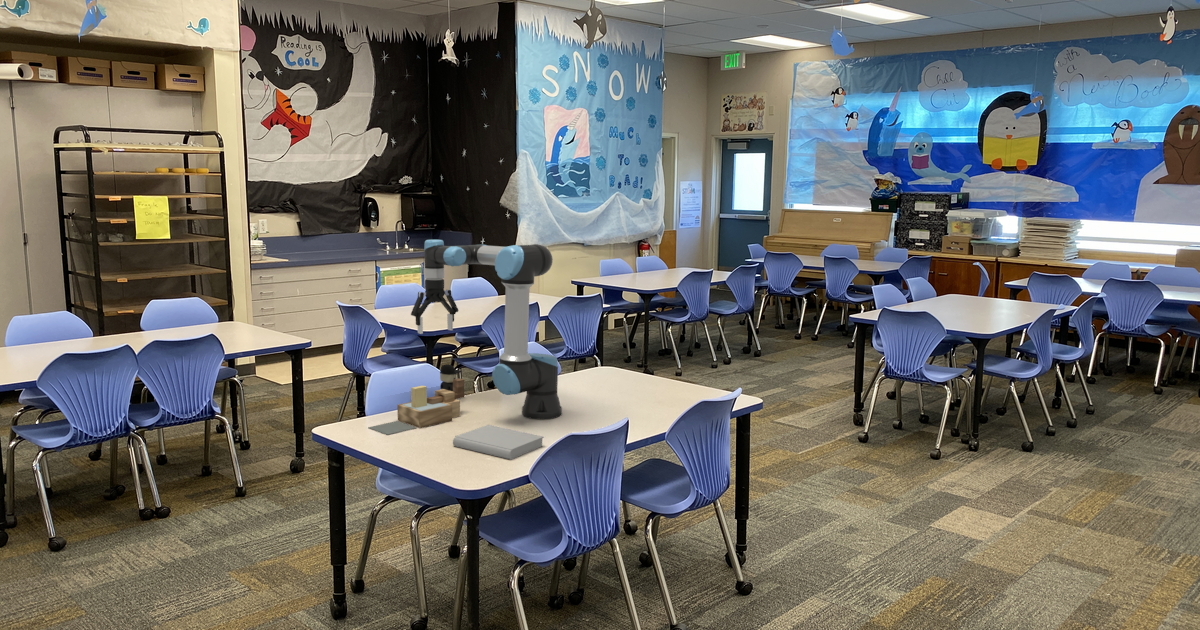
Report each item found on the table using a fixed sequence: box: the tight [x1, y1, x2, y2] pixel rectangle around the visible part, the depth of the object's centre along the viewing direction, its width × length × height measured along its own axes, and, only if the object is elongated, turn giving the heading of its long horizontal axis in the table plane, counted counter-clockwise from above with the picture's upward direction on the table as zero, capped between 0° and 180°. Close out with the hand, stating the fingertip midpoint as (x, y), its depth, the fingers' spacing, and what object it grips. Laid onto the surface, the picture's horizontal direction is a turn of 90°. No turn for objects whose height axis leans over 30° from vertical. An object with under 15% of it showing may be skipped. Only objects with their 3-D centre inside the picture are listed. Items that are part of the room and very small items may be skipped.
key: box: [427, 378, 465, 404], centre depth 319 cm, size 3×15×7 cm, turn 137°
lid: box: [402, 385, 447, 411], centre depth 313 cm, size 12×12×8 cm
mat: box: [368, 420, 417, 436], centre depth 304 cm, size 12×12×1 cm
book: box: [452, 424, 545, 460], centre depth 285 cm, size 18×4×24 cm
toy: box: [439, 364, 462, 392], centre depth 342 cm, size 8×9×15 cm
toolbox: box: [396, 389, 461, 429], centre depth 315 cm, size 14×20×10 cm
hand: (435, 331), depth 343 cm, fingers open, 13 cm apart
